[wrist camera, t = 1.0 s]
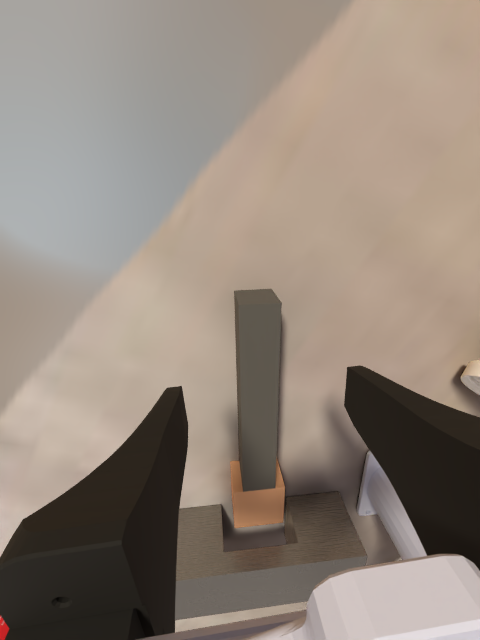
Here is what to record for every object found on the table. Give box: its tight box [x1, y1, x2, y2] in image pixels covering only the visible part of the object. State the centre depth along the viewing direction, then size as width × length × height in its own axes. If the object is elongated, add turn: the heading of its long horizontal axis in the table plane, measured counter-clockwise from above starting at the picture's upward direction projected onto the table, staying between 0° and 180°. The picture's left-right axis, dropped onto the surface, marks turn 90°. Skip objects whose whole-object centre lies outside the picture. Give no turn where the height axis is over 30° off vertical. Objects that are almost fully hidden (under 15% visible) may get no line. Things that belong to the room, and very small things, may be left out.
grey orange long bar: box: [230, 289, 285, 528], centre depth 22 cm, size 4×19×3 cm, turn 1°
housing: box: [175, 491, 367, 620], centre depth 26 cm, size 16×5×6 cm, turn 91°
